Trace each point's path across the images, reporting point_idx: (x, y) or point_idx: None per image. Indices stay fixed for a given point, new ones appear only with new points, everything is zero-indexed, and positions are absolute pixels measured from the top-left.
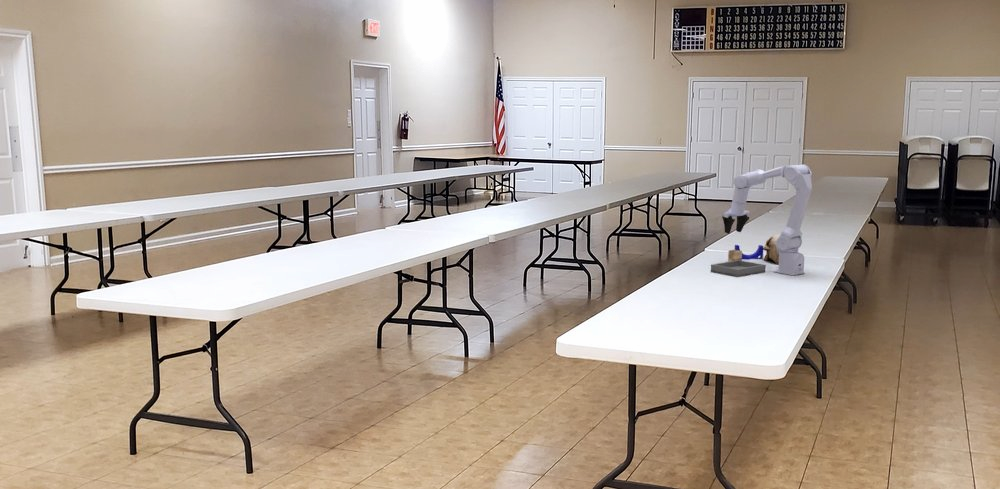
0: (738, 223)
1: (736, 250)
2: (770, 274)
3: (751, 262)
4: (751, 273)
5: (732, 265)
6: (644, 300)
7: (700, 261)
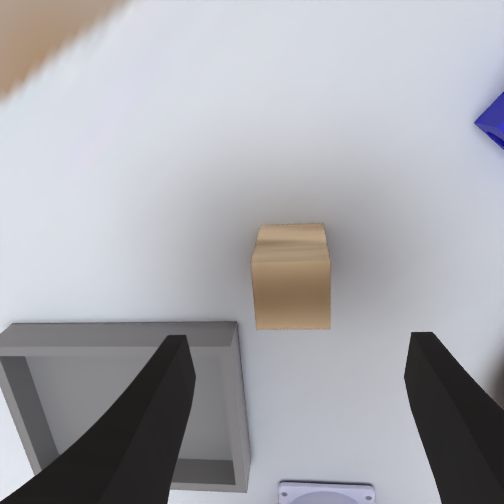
0: (456, 444)
1: (306, 296)
2: (227, 494)
3: (236, 425)
4: None
5: None
6: None
7: (166, 34)
